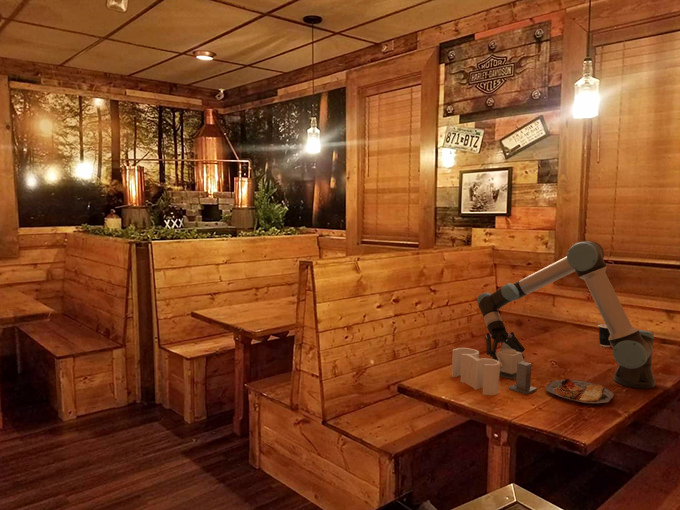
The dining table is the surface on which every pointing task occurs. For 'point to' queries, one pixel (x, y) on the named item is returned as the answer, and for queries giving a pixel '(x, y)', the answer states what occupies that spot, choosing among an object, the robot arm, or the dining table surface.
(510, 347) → the ceramic mug
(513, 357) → the beige block piece
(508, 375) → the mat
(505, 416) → the dining table surface
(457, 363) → the bracket
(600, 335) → the dixie cup
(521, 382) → the post
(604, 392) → the food plate
